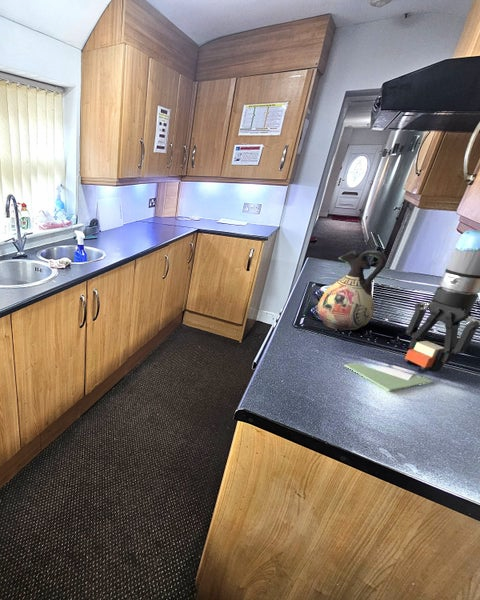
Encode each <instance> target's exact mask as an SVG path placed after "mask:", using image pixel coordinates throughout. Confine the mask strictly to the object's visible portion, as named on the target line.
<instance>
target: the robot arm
mask: <svg viewBox="0 0 480 600" xmlns="http://www.w3.org/2000/svg"><path fill="white" fill-rule="evenodd" d="M438 285H439V286H438V287H437V288H436V290H435V292H434V294H433V297H432V300H431V301H430V302H429V303H426V302H416V303H415V304H414V312H413V314H412V316H411V318H410V321H409V323H408V326H407V328H406V330H405V335H407V336H410V337H411V339H410V342H409V344H408V349H409V350H410V349H414V347H415V345H416V343H417V342H422V341H425V339H424V337H425V336H426V335H427V334H428V333H429V332H430V330H432V328H433V327H434V326H435V325H436V324H437V323H438V322H440V323H443V324H444V328H445V336H444V345H443V347H444V350H439V352H438V354H437V356H436V358H435V361H434V363H433V365H432V366H431V367H430V368H429V371H430V372H432V373H433V372H439V371H440V370H441V369H442V368H441V367H442V365H443V363H445V364H446V363H449V362H450V360H451V359H452V357H453V355H454V354H455V355H459V354H464V353H466V352H467V350H468V348H469V346H470V344H471V342H472V339H473V338H474V336H475V334H476V332H477V329H479V328H480V319H477V318H474V317H473V316H472V309H473V308H474V306H475V304H476V303H477V300H478V298H479V294H480V229H470V230H466V231H464V232H463V233H461V236H460V237H459V239H458V240H457V243H456V244H455V246H454V250H453V252H452V254H451V256H450V259H449V261H448V263H447V266H446V268H445V270H444V273H443V275H442V276H441V279H440V281H439V283H438ZM427 311H428V312H429V313H430V315H429V316H428V317H427V318H426V319H425V321H424V322H423V323H422V321H423V319H424V317H425V315H426V313H427ZM464 321H466V322H465V327H464V328H463V329H462V332H461V334H460V337H459V338H458V333H459V328H460V326H461V322H464ZM421 323H422V325H421ZM443 366H444V365H443Z"/></svg>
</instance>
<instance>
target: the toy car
mask: <svg viewBox="0 0 480 600" xmlns="http://www.w3.org/2000/svg"><path fill="white" fill-rule="evenodd" d="M439 350H444V346H441V345H438V344H436V343H433V342H431V341H428V340H424V341H422V342H417V343H416V345H415V347H414V349H410V348H409V349H408V350H407V352H406V355H405V356H404V361H403V362H404V363H405V364H407V365H409V364H412V363H413V364H416V365H418V366H419V367H420V368H419V369H420V371H423V372H428V370H430V368H431V366H432V365H433V363H434V361H435V358H436V356H437V354H438V352H439ZM445 364H446V363H443V365H442V367H444V365H445ZM442 367H441V369H442Z"/></svg>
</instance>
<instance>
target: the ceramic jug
mask: <svg viewBox="0 0 480 600" xmlns="http://www.w3.org/2000/svg"><path fill="white" fill-rule="evenodd" d="M367 257H373V258H376V259H377V260H378V264H377V266H376V267H375V268H374V270H373V271H372V272H371V273H370V274H369V275H367V278H365V273H364V270H370V269H371V264H370V262H369V261H368V260H367ZM338 260H340V261H342V262H343V263H346V264H347V265H349V266H350V270H349V272H348V273H347V274H346V275H345V276H343V277H342V278H340V279H338V280H337V281H336V282H334V283H333V284H332V285H330V286H329V287H328V288H327V289H326V290H325V292H323V295H322V296H321V297H320V299H319V301H318V304H317V313H318V316H319V318H320V320H321V321H322V323H323V324H324V325H325V326H327V327H329V328H330V329H334V330H337V329H339V330H338V331H342V330H354V331H356V330H358V329H360V328H362V327H364V326H366V325H368V324H369V322H370V321H371V320H372V318H373V315H374V312H375V302H374V297H373V294H372V290H373V285H372V283H373V281H374V280H375V278H376V277H377V276H378V275H379V274H380V273H381V272H382V271H383V269H384V268H385V266H386V264H387V256H386V254H385V253H384V252H382V251H381V250H377V249H369V250H365V251H363V252H362V253H361V254H360V255H359V253H358V251H357V250H356V249H354V250H352V251H348V252H347V253H345V254H343V255H341V256H339V257H338ZM369 320H370V321H369Z"/></svg>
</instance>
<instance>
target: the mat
mask: <svg viewBox="0 0 480 600" xmlns="http://www.w3.org/2000/svg"><path fill="white" fill-rule="evenodd" d="M343 366H344V367H345V368H347V369H348V368H349V370H350V369H351V370H350V371H352V370H353V371H352V372H354V373H355V372H356V373H355V374H357V373H358V374H357V375H358V376H360V377H362V376H363V378H364V379H366V380H368V381H369V380H370V381H369V382H370V383H373V384H374V385H376V386H378V387H380V388H382V389H384V390H385V391H387V392H394V391H398V389H399V390H403V389H402V388H404V389H407V388H406V387H409V388H411V387H410V386H414V387H416V386H415V385H419V384H423V383H428V382H432V381H433V380H431V379H430V378H427V377H426V376H423V377H420V378H419V377H417V375H415V374H414V373H413V374H414V375H413V374H412V376H410V377H409V379H405V378H402V377H399V376H396V375H393V374H390V373H387V372H384V371H381V370H378V369H375V368H372V367H369V366H366V365H365V364H361V363H359V362H351V363H346V364H344V365H343ZM432 383H433V382H432ZM419 386H420V385H419ZM393 390H394V391H393Z"/></svg>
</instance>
